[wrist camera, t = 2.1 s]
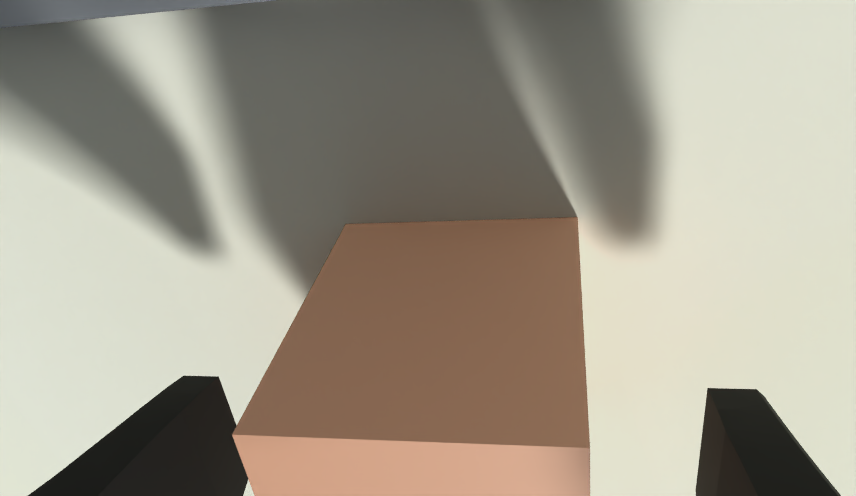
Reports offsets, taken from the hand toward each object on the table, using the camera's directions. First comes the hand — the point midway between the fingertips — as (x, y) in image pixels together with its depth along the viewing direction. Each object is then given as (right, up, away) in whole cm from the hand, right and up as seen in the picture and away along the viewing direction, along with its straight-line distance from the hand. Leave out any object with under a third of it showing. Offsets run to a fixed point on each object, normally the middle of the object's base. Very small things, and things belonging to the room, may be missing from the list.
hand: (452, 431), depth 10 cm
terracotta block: (0, +1, +2) cm, 3 cm away
